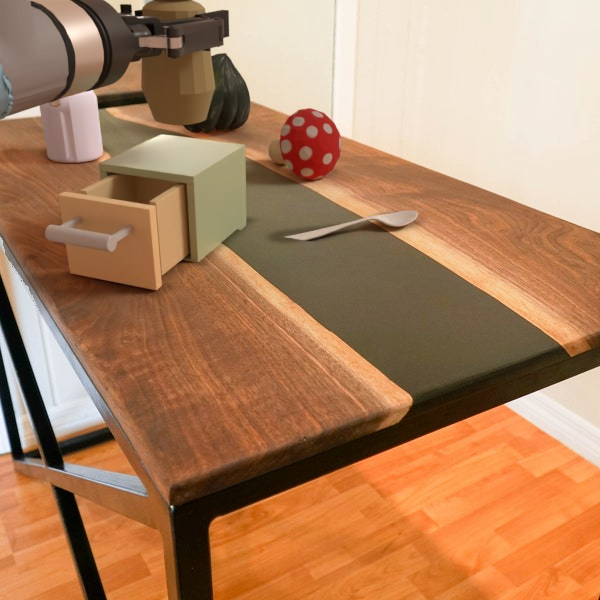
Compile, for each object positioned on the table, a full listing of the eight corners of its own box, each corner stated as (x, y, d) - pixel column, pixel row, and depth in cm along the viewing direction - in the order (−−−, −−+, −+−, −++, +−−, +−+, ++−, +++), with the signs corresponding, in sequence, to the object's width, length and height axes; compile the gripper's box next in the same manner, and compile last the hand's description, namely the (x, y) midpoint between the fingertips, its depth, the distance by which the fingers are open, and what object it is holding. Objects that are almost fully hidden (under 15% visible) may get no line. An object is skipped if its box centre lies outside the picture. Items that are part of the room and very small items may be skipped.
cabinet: (198, 268, 75) (193, 176, 70) (109, 251, 78) (98, 163, 73) (246, 225, 86) (245, 144, 81) (167, 212, 90) (161, 133, 85)
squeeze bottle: (212, 111, 79) (206, -60, 70) (220, 128, 72) (214, -59, 63) (143, 112, 77) (129, -62, 69) (144, 130, 70) (128, -62, 62)
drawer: (131, 312, 64) (121, 227, 60) (40, 292, 67) (25, 210, 63) (210, 245, 78) (207, 172, 74) (133, 231, 81) (125, 161, 77)
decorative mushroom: (258, 107, 109) (309, 89, 97) (309, 137, 115) (363, 124, 103) (237, 168, 108) (287, 158, 95) (289, 196, 114) (343, 189, 102)
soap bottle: (75, 167, 106) (51, 0, 94) (36, 158, 110) (8, -3, 98) (114, 154, 113) (97, -3, 101) (76, 146, 117) (55, -6, 105)
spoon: (424, 227, 88) (425, 215, 87) (281, 250, 80) (282, 237, 79) (407, 216, 91) (408, 205, 90) (269, 237, 83) (269, 225, 82)
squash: (146, 102, 124) (190, 43, 116) (187, 92, 136) (230, 38, 128) (196, 160, 125) (244, 105, 117) (233, 144, 137) (278, 93, 129)
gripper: (-16, 82, 59) (125, 49, 79) (175, 104, 54) (276, 63, 73) (-34, -9, 56) (119, -20, 75) (169, 4, 50) (277, -12, 69)
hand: (196, 21), depth 74 cm, fingers closed on squeeze bottle, 6 cm apart
